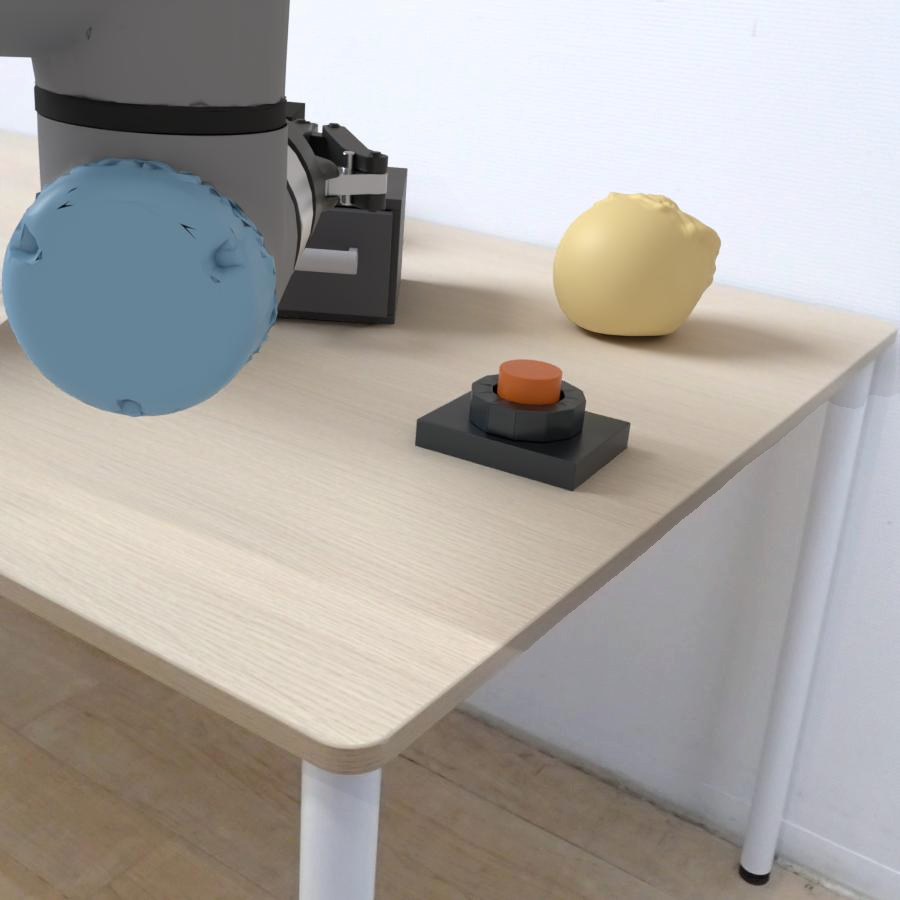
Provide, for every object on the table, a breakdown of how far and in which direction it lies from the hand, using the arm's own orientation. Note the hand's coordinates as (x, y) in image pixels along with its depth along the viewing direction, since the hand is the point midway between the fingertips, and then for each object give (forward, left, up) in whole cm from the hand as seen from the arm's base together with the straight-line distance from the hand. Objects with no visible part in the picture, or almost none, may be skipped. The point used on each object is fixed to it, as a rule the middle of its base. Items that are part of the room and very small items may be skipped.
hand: (291, 125), depth 69 cm
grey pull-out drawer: (-10, +17, -16) cm, 25 cm away
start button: (+16, +1, -13) cm, 21 cm away
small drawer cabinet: (-12, +20, -16) cm, 29 cm away
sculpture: (+11, +29, -17) cm, 35 cm away
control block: (+16, +1, -16) cm, 23 cm away
